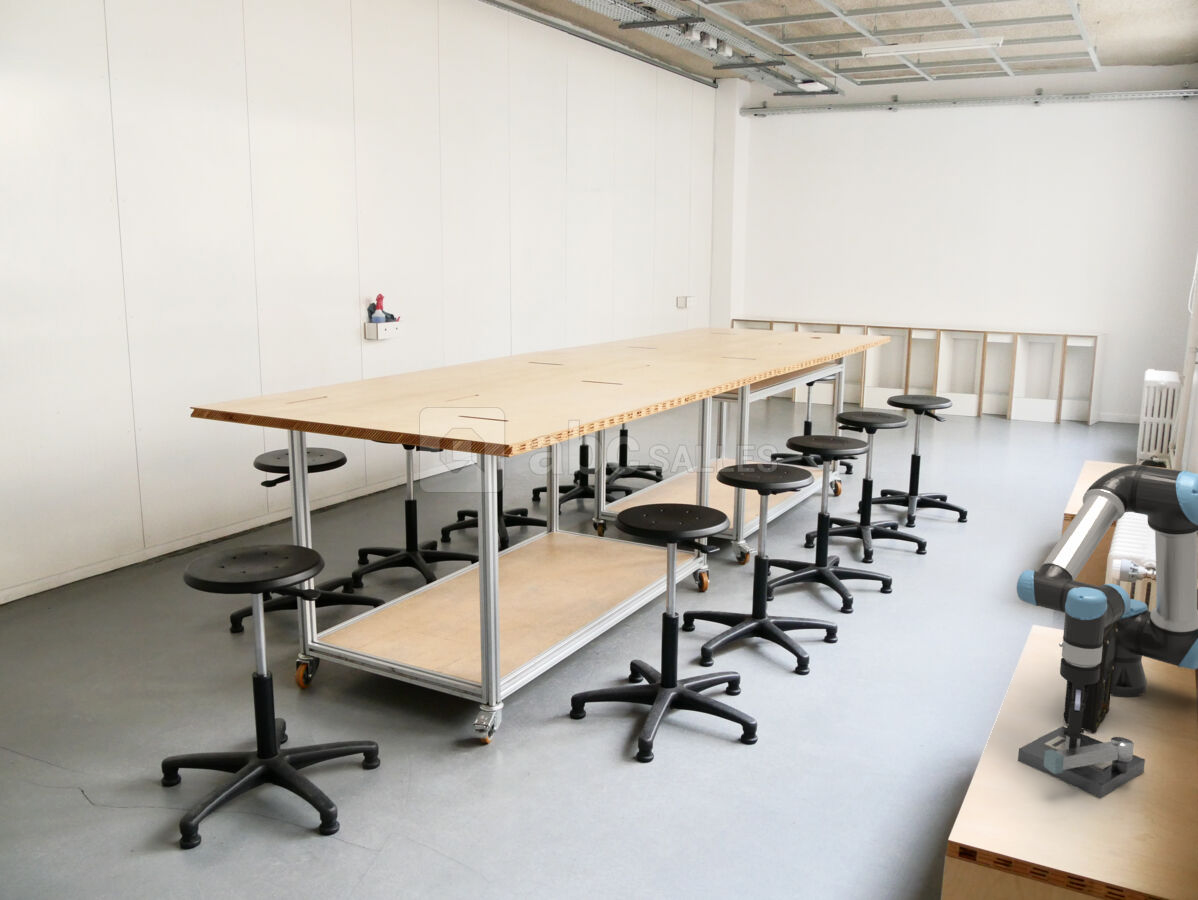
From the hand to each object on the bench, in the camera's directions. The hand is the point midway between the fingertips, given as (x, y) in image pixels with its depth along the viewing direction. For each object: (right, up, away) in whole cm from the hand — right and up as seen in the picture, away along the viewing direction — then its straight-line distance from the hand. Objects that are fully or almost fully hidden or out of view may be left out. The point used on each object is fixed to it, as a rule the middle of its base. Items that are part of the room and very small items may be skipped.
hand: (1071, 761), depth 207 cm
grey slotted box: (+6, -3, +7) cm, 10 cm away
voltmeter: (+18, +1, +29) cm, 34 cm away
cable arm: (+3, +1, -3) cm, 4 cm away
